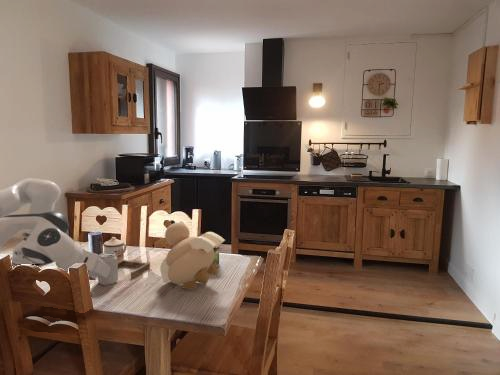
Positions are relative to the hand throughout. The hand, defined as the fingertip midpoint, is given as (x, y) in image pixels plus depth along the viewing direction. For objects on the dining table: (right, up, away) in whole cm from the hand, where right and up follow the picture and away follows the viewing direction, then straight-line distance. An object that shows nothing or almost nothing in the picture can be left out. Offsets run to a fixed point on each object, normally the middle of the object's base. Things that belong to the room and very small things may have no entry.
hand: (93, 276), depth 145 cm
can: (+2, -5, +9) cm, 11 cm away
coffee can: (+41, -2, +33) cm, 53 cm away
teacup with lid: (-4, -1, +37) cm, 37 cm away
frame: (+6, -3, +22) cm, 23 cm away
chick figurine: (+36, -6, +7) cm, 37 cm away
